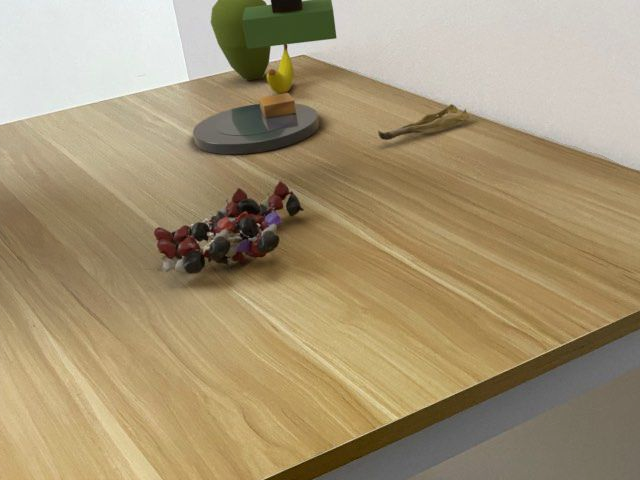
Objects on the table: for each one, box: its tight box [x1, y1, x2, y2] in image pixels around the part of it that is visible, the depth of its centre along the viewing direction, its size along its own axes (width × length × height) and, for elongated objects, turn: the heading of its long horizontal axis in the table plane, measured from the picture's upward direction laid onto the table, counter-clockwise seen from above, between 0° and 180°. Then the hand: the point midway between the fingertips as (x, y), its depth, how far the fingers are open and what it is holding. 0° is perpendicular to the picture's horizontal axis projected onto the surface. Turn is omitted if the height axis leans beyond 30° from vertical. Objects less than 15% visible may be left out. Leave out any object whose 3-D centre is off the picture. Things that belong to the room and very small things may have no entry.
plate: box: [192, 102, 320, 155], centre depth 103 cm, size 16×16×1 cm
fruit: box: [266, 44, 294, 94], centre depth 114 cm, size 10×2×5 cm, turn 174°
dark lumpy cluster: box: [153, 180, 304, 275], centre depth 76 cm, size 15×14×5 cm
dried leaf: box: [377, 104, 470, 141], centre depth 97 cm, size 4×13×2 cm, turn 125°
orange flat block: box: [258, 92, 296, 118], centre depth 104 cm, size 4×4×2 cm
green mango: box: [210, 0, 272, 81], centre depth 118 cm, size 9×8×12 cm
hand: (286, 2), depth 81 cm, fingers closed on sponge brush, 3 cm apart
